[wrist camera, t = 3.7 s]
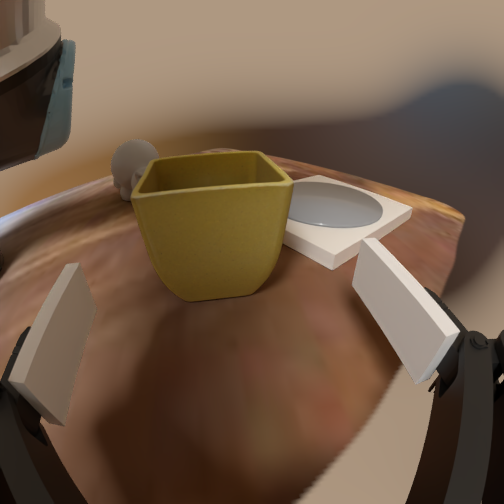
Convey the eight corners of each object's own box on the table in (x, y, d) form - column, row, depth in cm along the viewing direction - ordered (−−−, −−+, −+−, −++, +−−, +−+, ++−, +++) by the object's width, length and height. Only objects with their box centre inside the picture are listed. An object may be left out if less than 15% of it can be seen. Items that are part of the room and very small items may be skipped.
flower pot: (287, 310, 19) (297, 180, 14) (158, 326, 18) (127, 195, 13) (259, 247, 27) (260, 149, 22) (164, 257, 25) (150, 158, 20)
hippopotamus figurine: (130, 234, 35) (124, 181, 29) (109, 184, 40) (104, 137, 34) (179, 218, 39) (182, 166, 32) (150, 172, 44) (150, 127, 37)
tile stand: (222, 211, 34) (221, 197, 33) (318, 183, 43) (318, 173, 43) (332, 270, 23) (335, 251, 22) (410, 218, 33) (413, 205, 32)
